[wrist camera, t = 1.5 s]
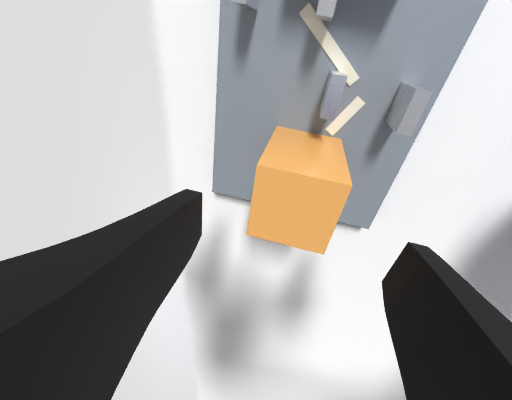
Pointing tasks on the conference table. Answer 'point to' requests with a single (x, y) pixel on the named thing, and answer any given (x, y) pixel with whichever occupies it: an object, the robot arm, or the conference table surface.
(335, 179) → the block
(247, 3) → the clips
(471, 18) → the board
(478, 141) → the conference table surface
